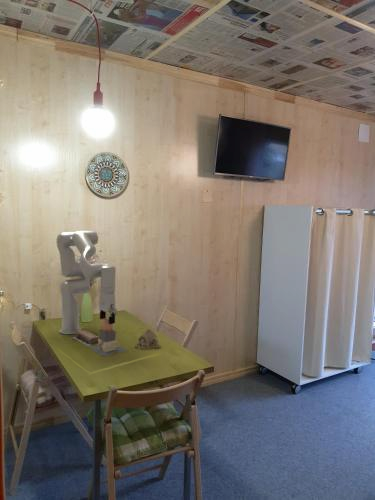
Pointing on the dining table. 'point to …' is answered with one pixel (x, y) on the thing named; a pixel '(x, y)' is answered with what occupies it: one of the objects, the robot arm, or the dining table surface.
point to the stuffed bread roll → (147, 340)
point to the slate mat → (102, 353)
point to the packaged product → (85, 337)
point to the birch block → (107, 345)
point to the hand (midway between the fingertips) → (107, 321)
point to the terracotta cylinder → (106, 325)
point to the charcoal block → (107, 336)
